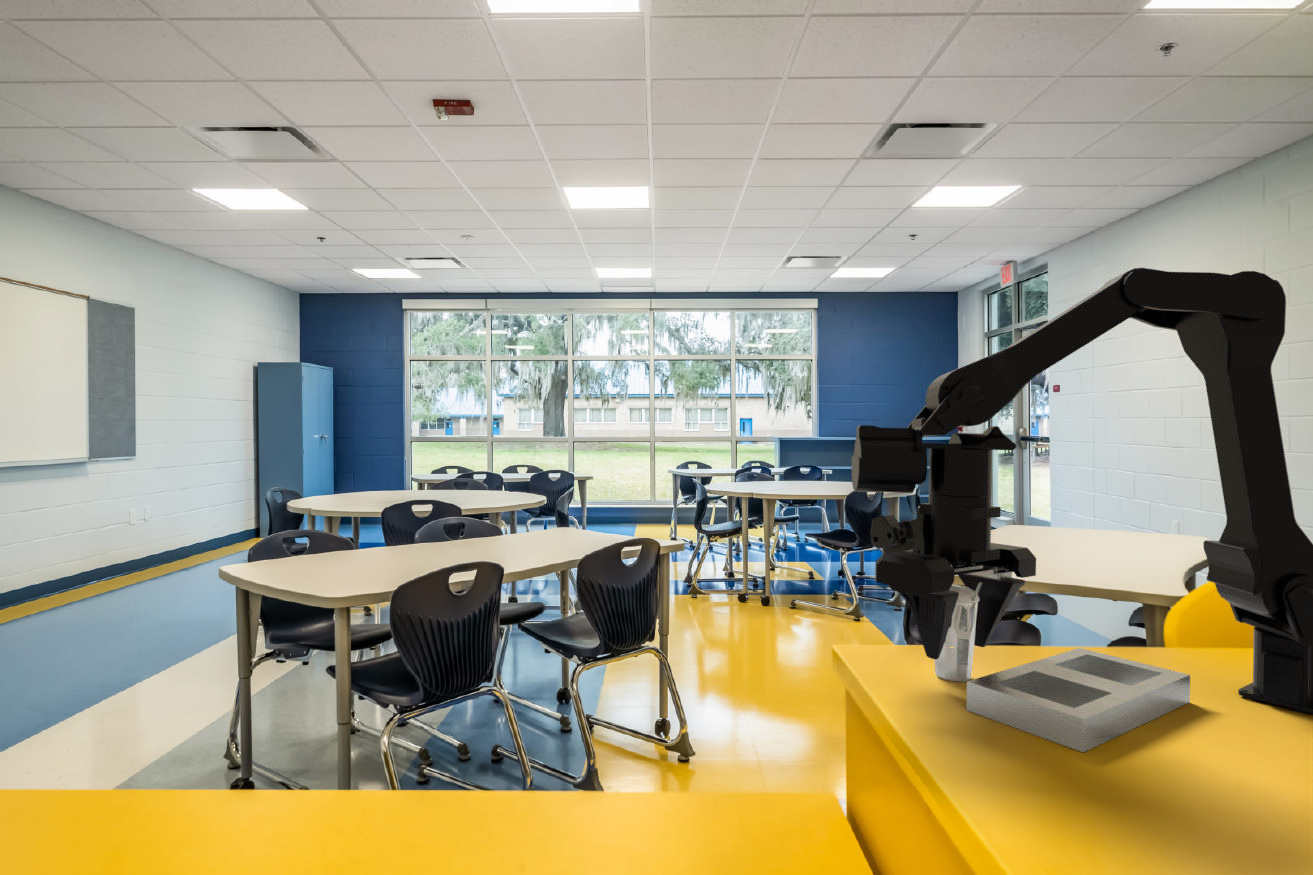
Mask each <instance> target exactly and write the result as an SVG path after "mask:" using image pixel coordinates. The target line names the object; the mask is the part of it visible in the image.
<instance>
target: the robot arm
mask: <svg viewBox="0 0 1313 875" xmlns="http://www.w3.org/2000/svg"><path fill="white" fill-rule="evenodd" d="M1286 313H1287V296H1286V293H1285V291H1284V287H1283V286H1282V284H1281V283H1280V282H1279V280H1276V279H1273V278H1272V277H1270V276H1269V275H1267V274H1265V273H1263V272H1258V271H1256V270H1243V271H1238V272H1236V273H1233V274H1226V273H1219V272H1208V271H1207V272H1206V271H1204V272H1200V271H1199V272H1196V271H1166V270H1161V269H1159V270H1158V269H1154V268H1146V267H1135V268H1132V269H1130V270H1127V271H1126V272H1123V273H1121V274H1119V275H1116V276H1115V277H1113V278H1111V279H1109V280H1108V281H1106V282H1104V284H1103V285H1102V286H1101V287H1100V288H1099V289H1098V290H1096V291H1094V292H1093V293H1091V294H1090V295H1088V296H1087V297H1085V298H1083V299H1082V300H1080V301H1079V302H1077V303H1075V304H1073V305H1072V306H1070V307H1069V308H1067V309H1066V310H1064V311H1062V312H1061V313H1059V314H1058V315H1056V316H1055V317H1053V318H1051V319H1050V320H1048V321H1047V322H1045V323H1043V324H1042V325H1040V326H1039V327H1037V328H1036V329H1034V330H1032V331H1031V332H1029V333H1028V334H1026V335H1024V336H1023V337H1021V338H1020V339H1018V340H1017V341H1014V343H1012V344H1010V345H1009V346H1007V347H1006V348H1003V349H1002V350H1000V351H997V352H994V353H992V354H990V355H987V356H985V357H983V358H980V359H979V360H976V361H973V362H970V363H968V364H966V365H964V366H961V367H958V368H956V369H953V370H951V371H949V372H946V373H943V374H941V375H940V376H938V377H936V378H935V379H934V380H933V381H932V382H931V383H930V384H929V386H928V387H927V390H926V395H925V405H924V406H923V407H922V409H921V410H920V411H919V412H918V414H917V415H916V416H915V418H914V419H911V422H910V424H909V425H908V426H907V427H881V426H880V427H879V426H876V425H870V424H869V425H868V424H867V425H864V424H861V425H858V426H857V427H856V438H855V441H854V449H853V455H851V482H852V488H853V491H854V492H861V493H863V492H864V493H885V494H886V493H891V494H913V493H914V491H915V488H916V485H917V486H918V485H923V484H925V482H926V479H927V473H928V474H929V476H928V477H929V478H928V479H929V480H928V481H929V482H928V502H927V503H926V502H925V503H923V502H922V503H919V505H918V507H917V508H916V518H914V519H911V520H910V519H909V520H902V521H898V519H897V518H896V517H895V516H894V515H881V516H878V517H874V518H872V521H871V528H870V543H871V544H872V545H873V546H874V548H876V549H877V550H879V549H881V550H882V554H881V555H880V557H878V559H876V560H875V565H874V566H875V567H874V570H875V571H874V582H875V583H878V584H882V585H887V586H888V588H889V589H890V590H891V591H894V592H897V593H898V594H899V596H901V597H902V598H903V599H904V600H905V601H906V603H907V604H908V606H909V608H910V611H911V613H912V615H913V618H914V621H915V625H916V629H917V630H918V633H919V637H920V640H921V644H922V646H923V649H924V652H925V656H926V657H927V658H929V659H933V660H934V659H938V658H939V656H940V654H941V651H942V648H943V646H944V642H945V639H946V636H947V632H948V629H949V626H950V622H951V619H952V615H953V612H954V609H955V606H956V602H957V599H958V596H959V592H954V591H949V589H950V588H951V586H952V584H953V585H954V583H955V576H958V578H959V579H960V581H961V582H962V583H963V586H966V587H968V588H970V589H971V590H973V591H976V588H977V586H978V584H979V583H980V582H982V585H981V587H980V590H979V592H978V594H977V595H978V596H979V599H980V600H979V607H978V615H977V622H976V631H975V642H974V646H977V647H980V648H985V647H987V644H988V643H989V641H990V639H991V638H992V635H993V634H994V632H995V631H996V628H997V627H998V625H999V623H1000V621H1001V620H1002V618H1003V616H1004V615H1005V613H1006V611H1007V609H1008V608H1009V606H1010V605H1011V603H1012V601H1013V600H1014V598H1015V596H1016V595H1017V593H1018V592H1019V590H1020V589H1021V588H1022V587H1024V586H1025V583H1026V580H1025V579H1024V578H1030V577H1035V576H1037V557H1036V556H1035V554H1034V553H1032V551H1031V550H1030V549H1029V548H1028V547H1025V546H1024V547H1023V546H1017V545H1011V544H1010V545H1009V544H1003V543H995V542H991V541H992V540H991V539H992V536H991V535H992V519H993V518H1001V508H1002V507H1001V506H994V505H993V506H992V487H993V486H992V482H993V481H992V479H993V478H992V477H993V476H992V474H993V451H1014V450H1015V449H1016V448H1017V444H1016V443H1015V441H1012V440H1011V439H1010V438H1009V437H1008V436H1006V435H1005V434H1004V433H1003V431H1002V430H1001V428H1000V427H999V426H998V425H995V426H988V427H987V428H986V429H985V431H983V432H982V433H978V432H977V433H974V432H973V433H971V432H970V433H969V432H968V433H967V432H955V433H953V434H952V435H951V436H950V438H949V440H948V443H929V442H928V443H927V442H925V443H924V442H923V437H935V436H946V435H947V434H949V433H950V432H952V431H954V430H955V429H957V428H964V427H965V428H966V427H975V426H979V425H982V424H985V423H986V422H988V421H990V420H991V419H993V417H995V416H996V414H998V413H999V412H1000V411H1002V410H1003V409H1004V407H1006V406H1007V405H1008V404H1009V403H1011V401H1013V400H1014V399H1015V398H1016V397H1017V395H1018V394H1019V393H1020V392H1021V391H1022V390H1023V389H1024V388H1025V387H1026V385H1028V384H1029V382H1031V381H1032V380H1033V379H1035V377H1037V376H1038V375H1040V374H1041V373H1043V372H1044V371H1046V370H1047V369H1049V368H1051V367H1052V366H1054V365H1055V364H1057V363H1059V362H1060V361H1062V360H1063V359H1066V357H1068V356H1070V355H1071V354H1073V353H1075V352H1077V351H1079V349H1081V348H1084V347H1085V346H1086V345H1088V344H1089V343H1091V342H1093V341H1094V340H1096V339H1098V338H1099V337H1100V336H1102V335H1104V334H1106V333H1108V332H1109V331H1111V330H1112V329H1114V328H1115V327H1117V326H1118V325H1120V324H1122V323H1123V322H1125V321H1126V320H1129V319H1132V320H1135V321H1138V322H1140V323H1143V324H1146V325H1148V326H1152V327H1154V328H1160V329H1164V330H1165V329H1166V330H1171V331H1177V332H1176V333H1177V336H1178V338H1179V342H1180V344H1181V346H1182V348H1183V351H1184V353H1185V354H1186V355H1187V357H1188V358H1189V359H1190V360H1191V362H1192V363H1193V365H1195V367H1196V368H1197V369H1198V370H1199V372H1200V373H1201V375H1202V376H1203V379H1204V383H1205V388H1206V394H1207V401H1208V408H1209V414H1210V419H1211V426H1212V433H1213V438H1214V439H1213V440H1214V446H1215V453H1216V458H1217V465H1218V470H1219V476H1220V484H1221V489H1222V496H1223V502H1224V509H1225V514H1226V524H1225V526H1224V529H1223V531H1222V534H1221V536H1220V537H1219V540H1204V541H1203V551H1204V553H1205V554H1204V555H1205V556H1206V559H1207V562H1208V572H1207V575H1206V581H1207V582H1210V583H1214V585H1215V588H1216V591H1217V593H1218V594H1219V596H1220V597H1221V598H1222V599H1224V600H1225V601H1226V602H1227V603H1229V606H1230V608H1231V610H1232V613H1233V615H1234V618H1235V621H1237V622H1238V623H1241V624H1247V625H1249V626H1252V627H1253V657H1252V658H1253V660H1252V661H1253V662H1252V663H1253V664H1252V666H1253V667H1252V669H1253V670H1252V682H1250V683H1249V684H1247V685H1245V686H1242V687H1241V688H1239V689H1238V695H1239V696H1242V697H1245V698H1249V699H1252V700H1257V701H1261V702H1265V703H1267V704H1268V703H1269V704H1273V705H1277V706H1280V707H1285V708H1289V709H1292V710H1297V711H1301V712H1305V713H1308V714H1312V715H1313V542H1312V541H1311V539H1310V538H1309V537H1308V535H1307V534H1306V533H1305V531H1303V529H1302V528H1301V526H1300V525H1299V523H1298V522H1297V518H1296V516H1295V509H1294V504H1293V498H1292V491H1291V490H1292V489H1291V485H1290V478H1289V473H1288V466H1287V465H1288V464H1287V461H1286V455H1285V454H1286V453H1285V448H1284V441H1283V436H1282V435H1283V434H1282V429H1281V423H1280V418H1279V417H1280V415H1279V411H1278V405H1277V398H1276V393H1275V387H1274V381H1273V380H1274V379H1273V373H1272V365H1273V363H1274V359H1275V358H1276V356H1277V352H1278V350H1279V348H1280V346H1281V344H1282V342H1283V339H1284V337H1285V335H1286V334H1285V333H1286V316H1287V314H1286ZM928 449H929V467H928ZM928 468H929V470H928ZM928 471H929V472H928ZM1013 573H1014V575H1015V576H1016V578H1015V577H1013ZM1017 577H1018V578H1017ZM1020 578H1023V579H1020Z"/></svg>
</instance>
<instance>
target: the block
mask: <svg viewBox="0 0 1313 875" xmlns="http://www.w3.org/2000/svg"><path fill="white" fill-rule="evenodd" d="M1190 699H1191V674H1189V673H1184V672H1179V671H1176V670H1171V669H1167V668H1165V667H1159V666H1156V665H1151V664H1148V663H1147V664H1146V663H1142V662H1139V661H1135V660H1132V659H1127V658H1122V657H1118V656H1115V655H1110V654H1106V653H1102V652H1098V651H1095V650H1094V651H1093V650H1090V649H1086V648H1082V647H1078V648H1075V649H1071V650H1068V651H1065V652H1061V653H1058V654H1055V655H1051V656H1048V657H1045V658H1040V659H1038V660H1034V661H1031V662H1027V663H1025V664H1020V665H1017V666H1015V667H1010V668H1007V669H1005V670H1001V671H998V672H997V671H996V672H993V673H991V674H987V675H984V676H981V677H977V678H973V679H970V680H968V681H966V709H965V710H966V711H968V712H970V713H973V714H976V715H979V716H981V717H985V718H987V719H990V720H992V721H995V722H997V723H1000V724H1004V725H1007V726H1010V727H1013V728H1014V729H1017V730H1020V731H1023V732H1026V733H1028V734H1031V735H1034V736H1037V737H1040V738H1042V739H1045V740H1048V741H1051V742H1052V743H1056V744H1059V745H1061V746H1064V747H1067V748H1070V749H1073V750H1075V751H1078V752H1081V753H1085V752H1087V751H1089V750H1091V749H1094V748H1096V747H1098V746H1100V745H1102V744H1104V743H1106V742H1108V741H1110V740H1113V739H1116V738H1117V737H1119V736H1121V735H1123V734H1125V733H1127V732H1129V731H1132V730H1134V729H1136V728H1138V727H1140V726H1142V725H1145V724H1147V723H1149V722H1151V721H1153V720H1155V719H1157V718H1160V717H1161V716H1163V715H1166V714H1167V713H1170V712H1172V711H1174V710H1176V709H1178V708H1180V707H1183V706H1184V705H1187V704H1189V703H1190V702H1191V700H1190Z"/></svg>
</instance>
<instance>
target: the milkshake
mask: <svg viewBox="0 0 1313 875" xmlns="http://www.w3.org/2000/svg"><path fill="white" fill-rule="evenodd" d="M981 585H982V582H980V583H979V584H978V586H977V588H976V591H973V590H971V589H970V588H968V587H966V586H965V585H963V586H962V585H957V584H954V583H953V584H952V586H951V588H950V589H949V591H954V592H959V596H958V599H957V602H956V606H955V609H954V612H953V615H952V619H951V622H950V626H949V629H948V632H947V636H946V639H945V642H944V646H943V648H942V651H941V654H940V656H939V658H938V659H933V660H934V672H935V675H936V676H937V677H938V678H940V679H942V680H945V681H949V682H950V681H951V682H955V683H957V682H959V683H960V682H963V683H964V682H966V683H967V681H970V680H972V673H973V672H972V671H973V662H974V661H973V660H974V652H975V644H974V642H975V631H976V622H977V615H978V607H979V600H980V599H979V596H978V595H977V594H978V592H979V590H980V587H981ZM950 647H954V648H950Z"/></svg>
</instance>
